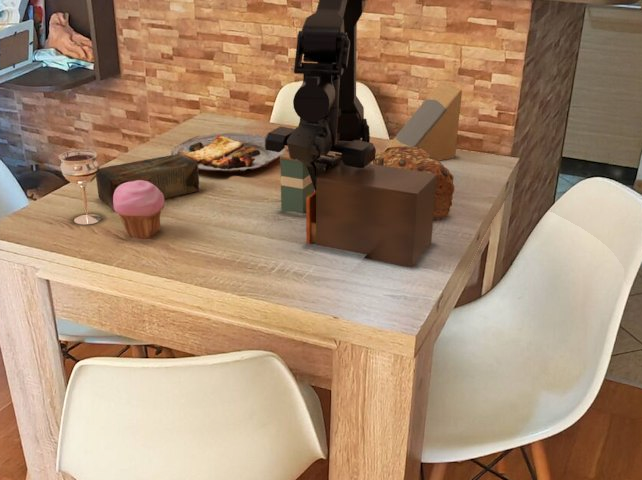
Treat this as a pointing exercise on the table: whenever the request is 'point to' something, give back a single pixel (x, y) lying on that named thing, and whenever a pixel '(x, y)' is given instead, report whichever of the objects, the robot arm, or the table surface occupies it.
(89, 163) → the wineglass
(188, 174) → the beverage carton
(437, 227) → the table surface
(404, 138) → the sandwich container
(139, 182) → the cupcake
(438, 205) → the bread
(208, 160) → the food plate
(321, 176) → the brown cupboard
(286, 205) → the long rectangular block
